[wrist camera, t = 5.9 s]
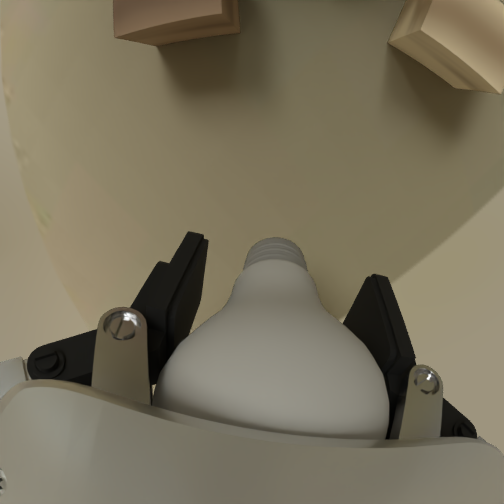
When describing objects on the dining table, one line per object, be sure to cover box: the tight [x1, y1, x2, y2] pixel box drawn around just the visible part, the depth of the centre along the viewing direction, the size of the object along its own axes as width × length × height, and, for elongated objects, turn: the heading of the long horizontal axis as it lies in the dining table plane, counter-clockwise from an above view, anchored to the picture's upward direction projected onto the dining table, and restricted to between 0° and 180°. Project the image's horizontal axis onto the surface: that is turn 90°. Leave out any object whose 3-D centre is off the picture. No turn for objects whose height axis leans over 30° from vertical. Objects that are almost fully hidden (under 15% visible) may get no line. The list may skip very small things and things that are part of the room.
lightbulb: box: [152, 237, 389, 440], centre depth 9 cm, size 6×6×11 cm
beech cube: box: [388, 0, 504, 94], centre depth 10 cm, size 5×5×5 cm
